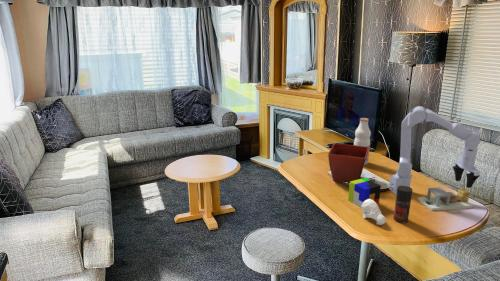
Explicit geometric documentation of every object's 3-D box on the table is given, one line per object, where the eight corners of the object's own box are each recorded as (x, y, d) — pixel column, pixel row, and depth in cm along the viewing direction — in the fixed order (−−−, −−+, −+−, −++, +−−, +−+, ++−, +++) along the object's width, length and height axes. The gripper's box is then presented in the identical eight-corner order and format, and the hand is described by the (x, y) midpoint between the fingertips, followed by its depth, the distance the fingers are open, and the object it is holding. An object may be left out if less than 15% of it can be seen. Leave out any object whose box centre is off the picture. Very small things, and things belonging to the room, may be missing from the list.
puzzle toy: (362, 209, 172) (364, 189, 169) (348, 200, 181) (349, 181, 177) (378, 204, 176) (381, 185, 173) (363, 196, 185) (365, 177, 182)
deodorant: (391, 216, 165) (395, 185, 161) (403, 216, 166) (408, 185, 161) (397, 223, 160) (401, 191, 155) (410, 222, 160) (415, 191, 156)
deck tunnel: (431, 210, 171) (433, 197, 169) (417, 199, 181) (419, 187, 179) (472, 207, 174) (475, 194, 172) (456, 197, 184) (459, 184, 182)
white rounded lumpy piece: (372, 195, 165) (392, 209, 156) (368, 212, 169) (388, 226, 159) (361, 198, 163) (381, 213, 153) (358, 215, 166) (377, 230, 156)
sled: (445, 203, 175) (447, 194, 173) (439, 199, 179) (441, 190, 177) (468, 201, 176) (470, 192, 175) (462, 197, 181) (464, 188, 179)
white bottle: (349, 162, 229) (353, 118, 220) (357, 159, 235) (361, 116, 226) (362, 166, 222) (367, 121, 214) (370, 162, 228) (375, 118, 220)
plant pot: (325, 182, 200) (327, 153, 195) (332, 170, 217) (334, 142, 212) (362, 188, 193) (365, 158, 188) (365, 175, 210) (368, 147, 205)
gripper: (488, 162, 166) (482, 190, 170) (465, 151, 180) (460, 177, 184) (473, 163, 165) (468, 190, 169) (452, 152, 179) (447, 178, 183)
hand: (463, 184), depth 176 cm, fingers open, 7 cm apart
